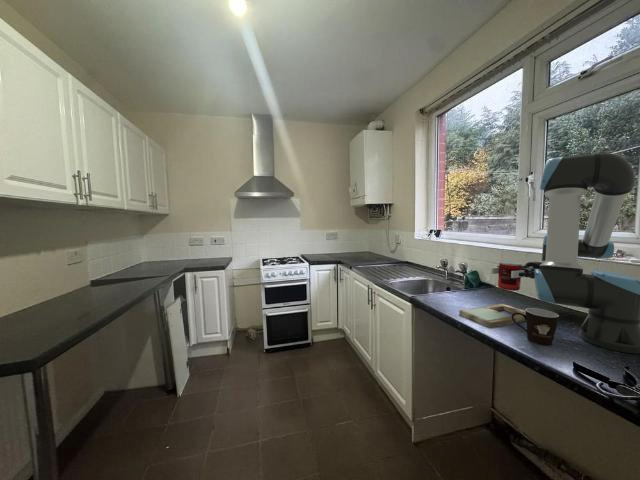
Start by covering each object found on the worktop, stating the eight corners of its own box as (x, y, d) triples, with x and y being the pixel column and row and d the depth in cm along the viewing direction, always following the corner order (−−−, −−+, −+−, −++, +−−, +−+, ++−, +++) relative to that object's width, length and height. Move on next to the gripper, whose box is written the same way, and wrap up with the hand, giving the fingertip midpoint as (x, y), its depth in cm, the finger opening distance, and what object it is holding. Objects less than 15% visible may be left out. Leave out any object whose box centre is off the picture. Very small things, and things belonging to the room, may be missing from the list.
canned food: (512, 286, 116) (514, 261, 115) (524, 291, 108) (526, 264, 107) (493, 285, 116) (495, 261, 115) (504, 290, 108) (506, 263, 108)
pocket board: (535, 318, 109) (536, 313, 108) (490, 327, 100) (490, 322, 100) (502, 307, 122) (502, 303, 121) (459, 314, 113) (459, 309, 113)
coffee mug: (560, 342, 88) (562, 313, 87) (551, 350, 83) (554, 319, 82) (518, 330, 97) (520, 304, 96) (509, 336, 93) (510, 308, 92)
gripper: (565, 283, 108) (527, 287, 100) (513, 273, 127) (478, 276, 120) (566, 265, 108) (529, 267, 100) (514, 258, 127) (479, 260, 119)
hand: (501, 272), depth 110 cm, fingers closed on canned food, 8 cm apart
